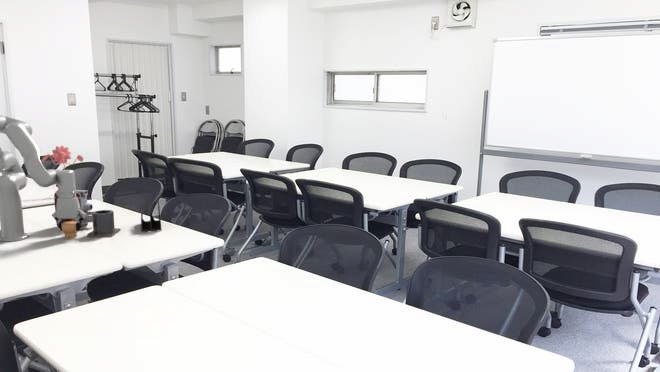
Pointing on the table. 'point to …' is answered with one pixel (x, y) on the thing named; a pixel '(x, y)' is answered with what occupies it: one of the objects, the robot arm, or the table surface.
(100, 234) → the top hat
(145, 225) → the letter holder
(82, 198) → the cine camera
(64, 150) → the pink flower
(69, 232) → the cap
